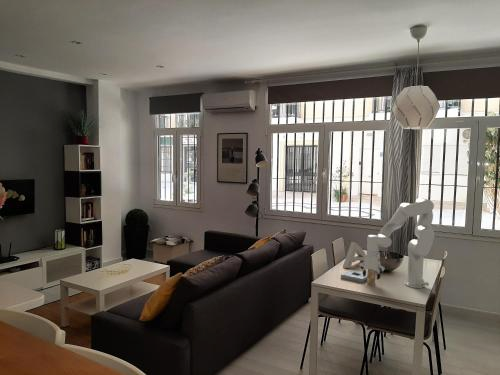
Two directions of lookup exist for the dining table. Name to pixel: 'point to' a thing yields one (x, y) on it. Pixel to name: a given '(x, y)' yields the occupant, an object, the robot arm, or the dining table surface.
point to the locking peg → (371, 277)
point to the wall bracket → (351, 255)
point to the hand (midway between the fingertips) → (371, 277)
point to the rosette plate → (354, 276)
